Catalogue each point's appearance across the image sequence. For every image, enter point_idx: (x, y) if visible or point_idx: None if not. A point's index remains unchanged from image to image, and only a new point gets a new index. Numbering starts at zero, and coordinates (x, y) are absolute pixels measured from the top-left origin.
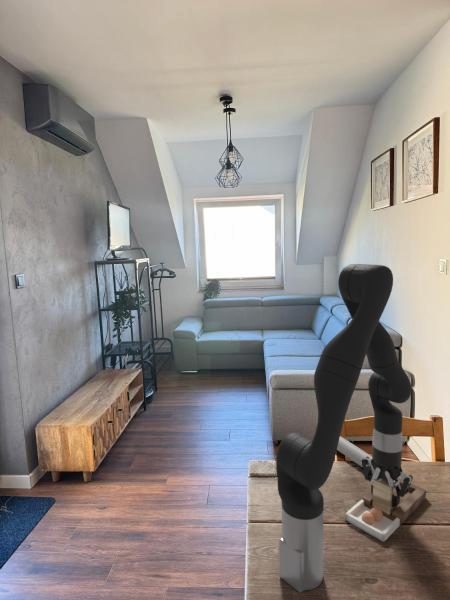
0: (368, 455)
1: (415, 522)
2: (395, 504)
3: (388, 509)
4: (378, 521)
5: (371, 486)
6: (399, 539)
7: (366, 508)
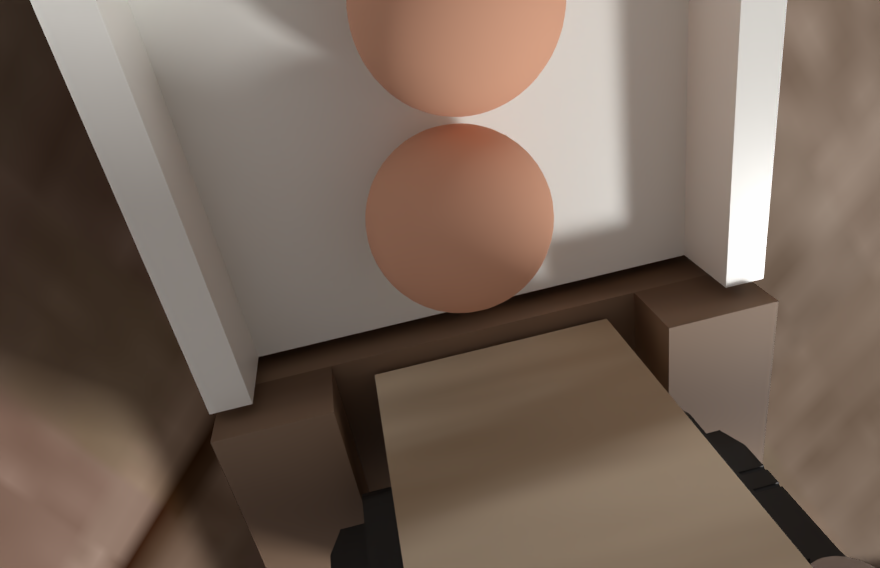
0: None
1: (184, 522)
2: (357, 544)
3: (401, 414)
4: None
5: (806, 522)
6: (10, 170)
7: (639, 240)
